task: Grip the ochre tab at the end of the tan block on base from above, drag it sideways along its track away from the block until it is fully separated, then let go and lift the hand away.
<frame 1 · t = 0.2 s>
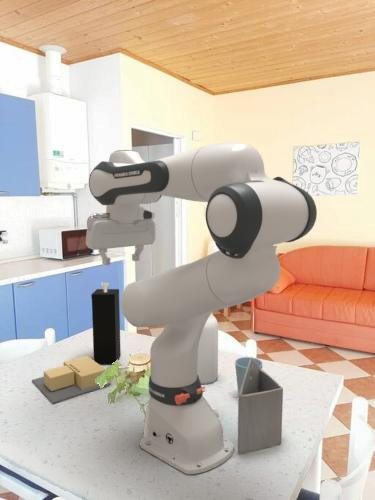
hand: (121, 262, 109), 39 cm above the table, tool pointing down, fingers open, 8 cm apart
cup: (248, 397, 113), on the table
black square bottle: (107, 360, 139), on the table
planter: (264, 439, 93), on the table
alcohol: (203, 379, 125), on the table
tan block on base: (71, 383, 122), on the table
stub: (59, 377, 119), point 3 cm above the table, slide at 0.0 cm
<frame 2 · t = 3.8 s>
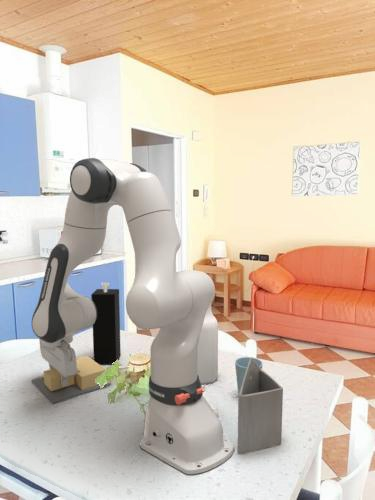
hand: (59, 380, 119), 2 cm above the table, tool pointing down, fingers closed on stub, 6 cm apart
stub: (59, 377, 119), point 3 cm above the table, slide at 0.0 cm, touching gripper
everything else where it was.
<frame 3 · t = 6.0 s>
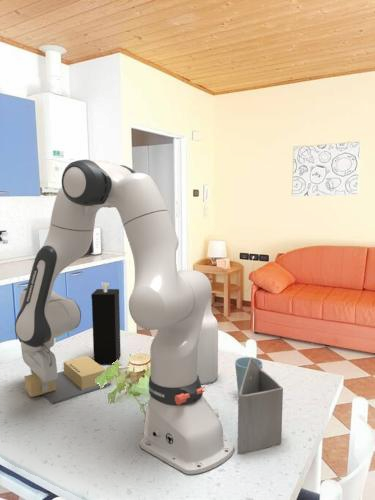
hand: (40, 386, 116), 2 cm above the table, tool pointing down, fingers closed on stub, 6 cm apart
stub: (40, 383, 116), point 3 cm above the table, slide at 5.6 cm, touching gripper
everything else where it was.
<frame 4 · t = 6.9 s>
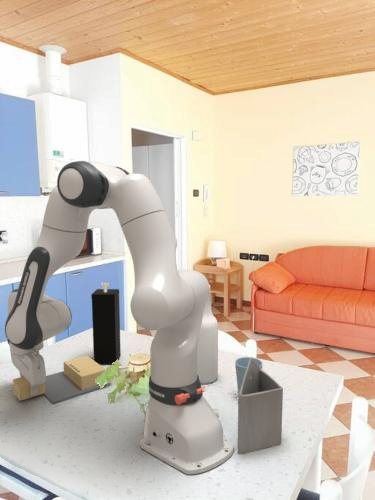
hand: (29, 389, 114), 2 cm above the table, tool pointing down, fingers closed on stub, 6 cm apart
stub: (29, 386, 114), point 3 cm above the table, slide at 8.7 cm, touching gripper
everything else where it was.
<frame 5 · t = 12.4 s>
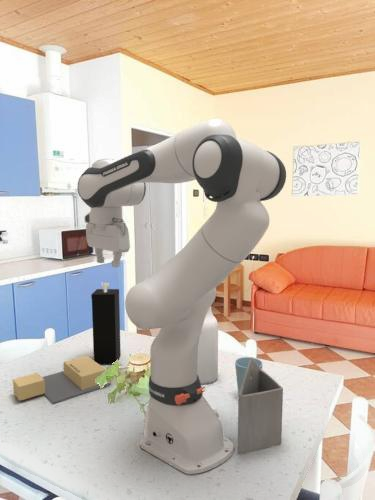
hand: (107, 264, 116), 37 cm above the table, tool pointing down, fingers open, 8 cm apart
stub: (29, 386, 114), point 3 cm above the table, slide at 8.8 cm
everything else where it was.
at the end: stub slide at 8.8 cm; the gripper is holding nothing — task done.
